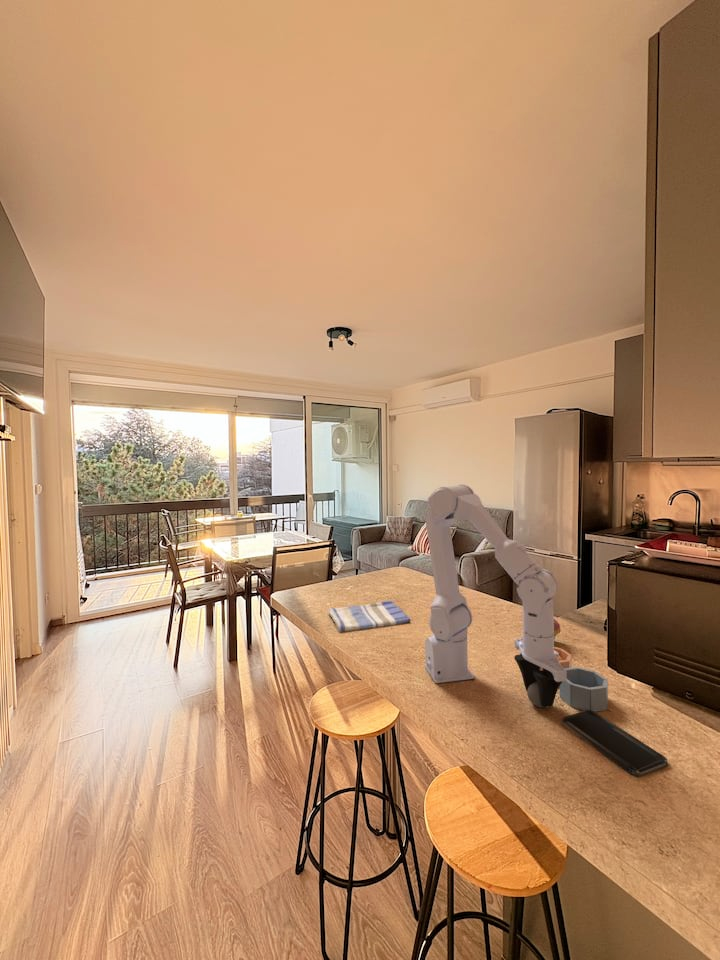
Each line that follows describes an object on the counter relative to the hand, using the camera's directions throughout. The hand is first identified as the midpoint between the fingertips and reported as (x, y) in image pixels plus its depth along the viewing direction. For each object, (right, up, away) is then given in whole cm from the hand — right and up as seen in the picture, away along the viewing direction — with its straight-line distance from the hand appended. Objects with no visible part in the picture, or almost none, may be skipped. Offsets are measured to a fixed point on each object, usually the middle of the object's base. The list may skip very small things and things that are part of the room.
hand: (539, 698), depth 83 cm
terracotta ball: (+8, +2, +11) cm, 14 cm away
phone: (+8, -2, -11) cm, 14 cm away
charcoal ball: (0, +1, 0) cm, 1 cm away
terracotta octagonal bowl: (+8, -1, +13) cm, 15 cm away
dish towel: (-34, -1, +50) cm, 60 cm away
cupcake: (+14, 0, +29) cm, 32 cm away
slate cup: (+10, -1, +2) cm, 10 cm away
